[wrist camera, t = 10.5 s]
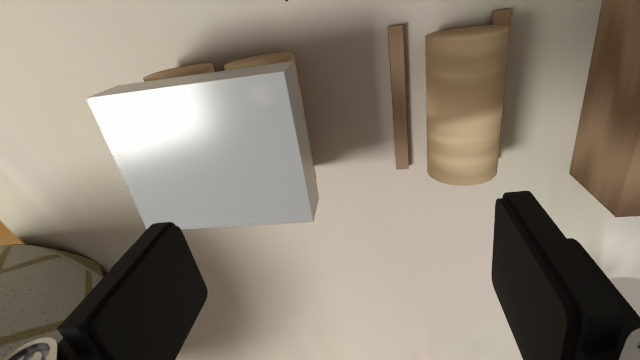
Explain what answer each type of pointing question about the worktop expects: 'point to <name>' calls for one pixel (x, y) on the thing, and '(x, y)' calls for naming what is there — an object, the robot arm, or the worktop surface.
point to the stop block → (612, 113)
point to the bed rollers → (278, 57)
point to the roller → (465, 102)
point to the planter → (40, 292)
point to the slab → (213, 147)
